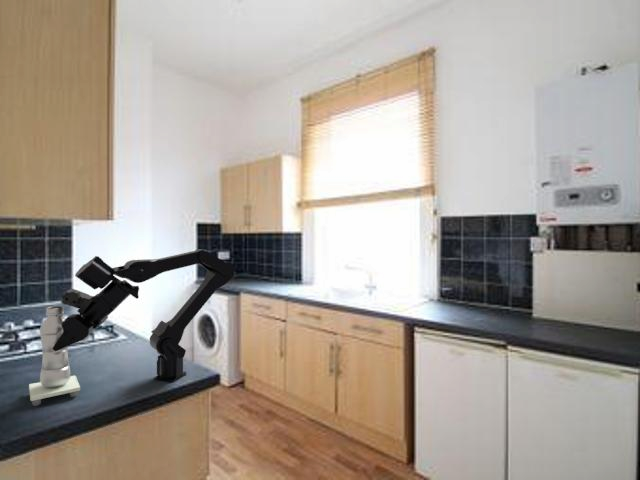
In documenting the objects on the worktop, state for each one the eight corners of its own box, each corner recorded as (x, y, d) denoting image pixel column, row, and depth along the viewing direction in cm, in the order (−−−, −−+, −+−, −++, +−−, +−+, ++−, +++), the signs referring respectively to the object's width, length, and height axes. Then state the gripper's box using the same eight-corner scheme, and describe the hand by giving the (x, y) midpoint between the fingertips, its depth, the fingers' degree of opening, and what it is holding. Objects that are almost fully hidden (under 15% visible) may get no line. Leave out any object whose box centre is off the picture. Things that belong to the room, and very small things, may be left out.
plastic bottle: (72, 378, 101) (71, 303, 101) (69, 388, 95) (68, 308, 95) (42, 383, 98) (41, 305, 98) (37, 392, 92) (36, 310, 92)
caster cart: (75, 384, 103) (75, 375, 103) (80, 397, 96) (80, 387, 96) (29, 393, 97) (29, 384, 97) (30, 408, 89) (30, 397, 89)
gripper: (94, 274, 107) (49, 315, 104) (71, 283, 89) (16, 333, 86) (125, 300, 109) (82, 341, 106) (109, 314, 91) (56, 364, 88)
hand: (61, 344), depth 97 cm, fingers open, 9 cm apart
